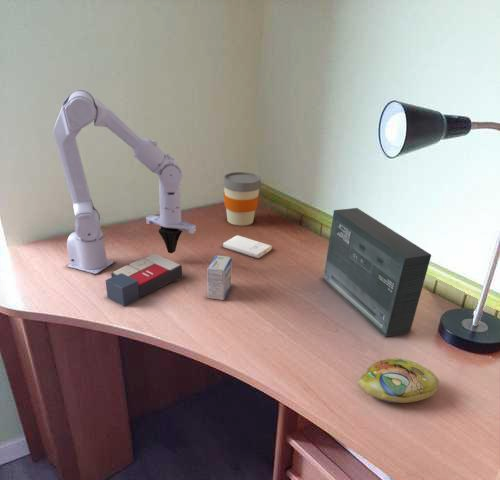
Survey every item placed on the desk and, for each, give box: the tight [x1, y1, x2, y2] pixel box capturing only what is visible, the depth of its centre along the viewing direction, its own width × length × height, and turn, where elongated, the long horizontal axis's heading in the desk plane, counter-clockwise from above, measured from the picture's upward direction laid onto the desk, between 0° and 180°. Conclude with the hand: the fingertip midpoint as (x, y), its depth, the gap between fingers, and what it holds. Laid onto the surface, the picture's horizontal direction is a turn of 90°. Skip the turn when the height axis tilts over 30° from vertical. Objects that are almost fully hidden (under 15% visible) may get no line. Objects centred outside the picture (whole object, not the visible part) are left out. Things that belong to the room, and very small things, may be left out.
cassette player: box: [323, 207, 432, 338], centre depth 120 cm, size 29×7×20 cm, turn 22°
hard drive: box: [222, 234, 273, 259], centre depth 150 cm, size 2×8×12 cm
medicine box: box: [206, 254, 233, 301], centre depth 124 cm, size 8×4×9 cm, turn 168°
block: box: [105, 273, 140, 307], centre depth 120 cm, size 6×5×5 cm
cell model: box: [357, 357, 440, 404], centre depth 96 cm, size 11×8×15 cm
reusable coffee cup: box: [222, 171, 262, 227], centre depth 165 cm, size 13×13×15 cm
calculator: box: [110, 252, 183, 299], centre depth 129 cm, size 11×4×15 cm
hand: (171, 251), depth 139 cm, fingers closed
